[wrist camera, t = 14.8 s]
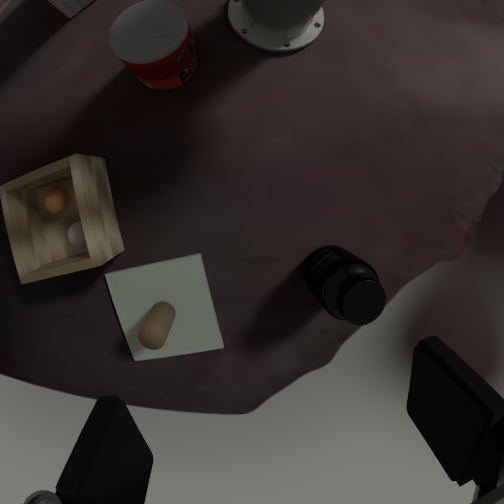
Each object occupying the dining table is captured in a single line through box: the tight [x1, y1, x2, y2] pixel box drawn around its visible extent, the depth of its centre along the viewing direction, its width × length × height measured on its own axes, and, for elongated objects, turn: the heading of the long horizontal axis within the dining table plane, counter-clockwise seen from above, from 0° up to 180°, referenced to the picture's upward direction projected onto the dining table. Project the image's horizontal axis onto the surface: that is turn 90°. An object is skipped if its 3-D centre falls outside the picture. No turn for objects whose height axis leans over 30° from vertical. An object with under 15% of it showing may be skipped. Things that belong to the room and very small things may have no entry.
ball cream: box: [68, 221, 87, 247], centre depth 35 cm, size 3×3×3 cm
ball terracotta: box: [44, 188, 67, 213], centre depth 33 cm, size 3×3×3 cm
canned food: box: [109, 0, 198, 90], centre depth 28 cm, size 8×8×11 cm
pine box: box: [0, 154, 124, 284], centre depth 33 cm, size 12×12×8 cm
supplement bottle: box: [304, 245, 386, 326], centre depth 34 cm, size 7×7×12 cm
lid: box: [105, 253, 224, 361], centre depth 37 cm, size 13×13×8 cm
